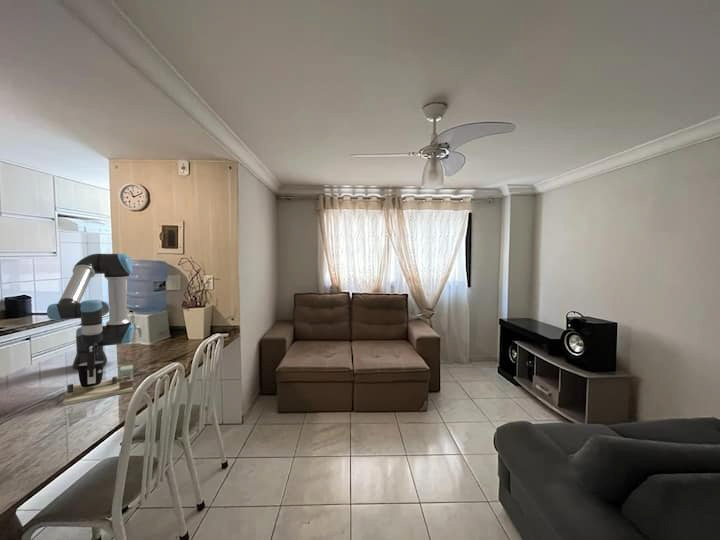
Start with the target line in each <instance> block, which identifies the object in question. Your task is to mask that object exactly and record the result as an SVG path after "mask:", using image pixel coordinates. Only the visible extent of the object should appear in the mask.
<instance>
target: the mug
mask: <svg viewBox="0 0 720 540" xmlns="http://www.w3.org/2000/svg"><path fill="white" fill-rule="evenodd" d="M104 366H105V364H104V362H103V361H95V373H96V383H93V384H88V375H87V371H85V369H87V363H82V364H79V365H78V369H77V371H78V372H77V373H78V379H79V383H80V384H81V386H82V387H91V386H96V385H99V384H100V383H101V381H103V380H102V379H103V374H104ZM90 367H92V366H90ZM80 384H79V385H80Z"/></svg>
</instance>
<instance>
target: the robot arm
mask: <svg viewBox="0 0 720 540" xmlns="http://www.w3.org/2000/svg"><path fill="white" fill-rule="evenodd" d="M72 273H73V274H72V275H71V277H70V279H69V281H68V283H67V285H66V286H65V289H64V291H63V293H62V295H61V297H60V299H59V301H58V303H52V304H49V305H48V307H47V310H46V315H47V318H48V319H49V320H55V321H56V320H57V321H58V320H61V321H62V320H73V319H74V320H75V319H80V325H81V326H80V327H78V328H77V329H76V331H75V333H76V335H75V343H76V344H75V345H76V354H75V357H74V359H73V362H72V369H74V370H78V365H79V364H82V363H87V369H85V371H87V375H88V384H93V383H96V373H95V361H103V362H104V365H106V364H107V363H108V357H107V355H106V353H105V351H104V346H116V345H117V346H118V345H125V344H126V345H127V344H130V343H131V342H132V340H133V338H134V334H135V324H134V323H132V322H131V321H132V320H130V319H129V318H128V294H127V293H128V291H127V290H128V287H127V279H128V278H129V277H130V274H132V273H133V262H132V258H131V257H130V255H128V254H126V253H92V254H89V255H87V256H85V257H83V258H81V259H80V260H79V261H78V262H77V263H76V264H74V266H73V268H72ZM98 274H100V275H101V274H103V277H104V279H106V280H107V291H108V296H107V297H108V302H106V301H104V300H100V299H89V300H88V299H87V300H83V301H82V298H83V296H84V294H85V292H86V289H87V287H88V286H89V283H90V281H91V280H92V278H94V277H95V275H98ZM107 314H108V317H109V318H108V319H109V320H108V321H107V322H105V323H106V324H105V325H104V324H103V317H105V316H106V315H107ZM90 366H92V367H90Z"/></svg>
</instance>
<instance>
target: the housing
mask: <svg viewBox="0 0 720 540" xmlns="http://www.w3.org/2000/svg"><path fill="white" fill-rule="evenodd" d="M128 372H129V376H130V379H133V380H134V367H133V364H130V365H124V366H120V369H119V378H120V381H122V380H124V377H125V373H128Z"/></svg>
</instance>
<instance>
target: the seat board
mask: <svg viewBox="0 0 720 540" xmlns="http://www.w3.org/2000/svg"><path fill="white" fill-rule="evenodd" d="M66 385H67V386H66V387H67V388H66V389H67V392H66V394H65V396H64V399H63V401H62V406H68V405H72V404H76V403H77V404H78V403H83V402H86V401H88V402H89V401H92V400H97V399H103V398H107V397H108V398H109V397H113V396H117V395H123V394H128V393H133V392H134V378H133V379H130V375H126V376H124V380H122V381H120V377H118V376H113V377H112V378H109V379H105V380H104V379H103V380H101V383H100V384H99V385H96V386H91V387H82V386H81V384H76V385H74V384H73V383H71V384H66Z"/></svg>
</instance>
